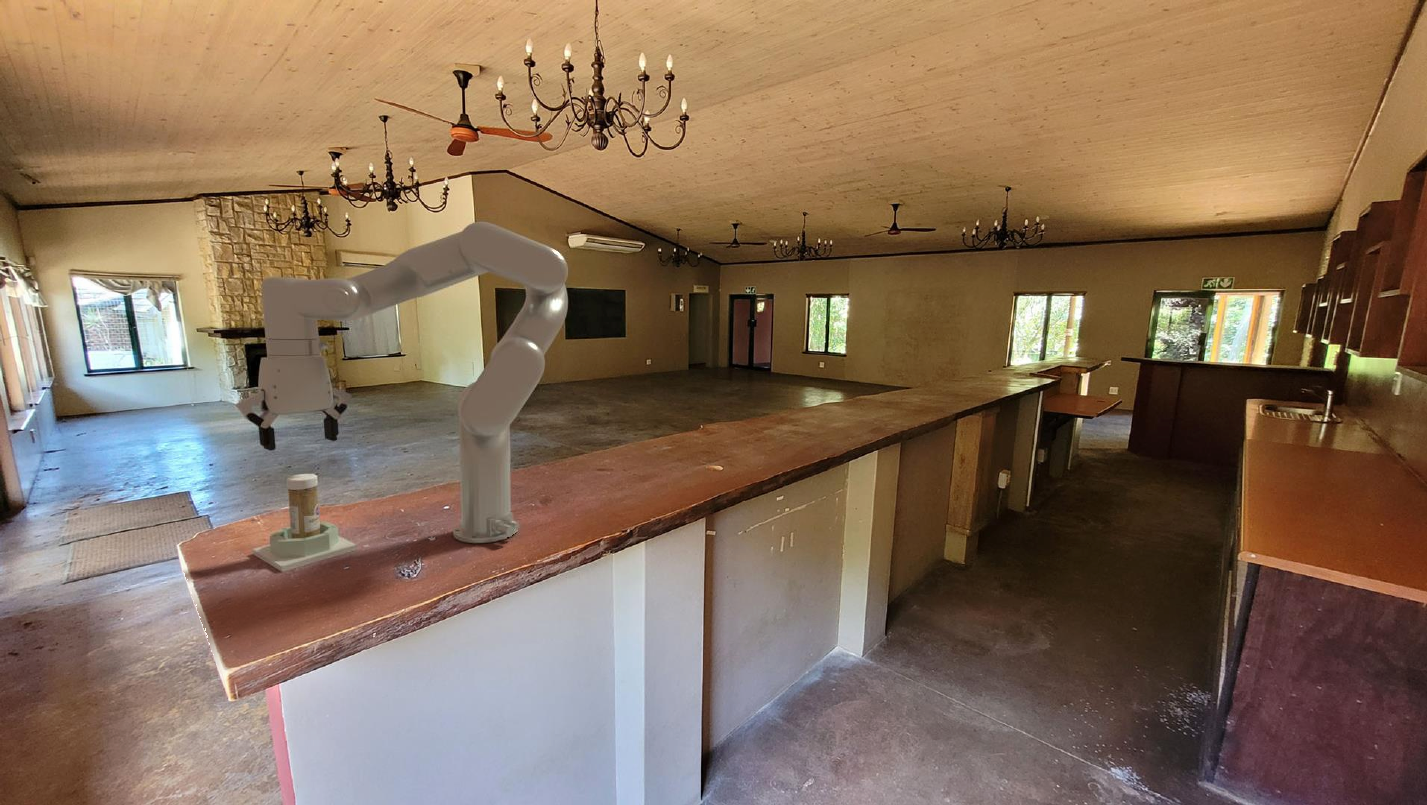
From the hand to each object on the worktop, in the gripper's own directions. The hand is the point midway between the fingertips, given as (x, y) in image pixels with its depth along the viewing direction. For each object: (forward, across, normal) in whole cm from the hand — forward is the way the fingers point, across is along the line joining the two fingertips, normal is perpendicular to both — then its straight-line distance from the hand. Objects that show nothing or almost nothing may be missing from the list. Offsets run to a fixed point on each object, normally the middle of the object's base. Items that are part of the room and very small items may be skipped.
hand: (301, 444), depth 102 cm
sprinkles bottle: (+20, 0, 0) cm, 20 cm away
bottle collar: (+20, 0, 0) cm, 20 cm away
